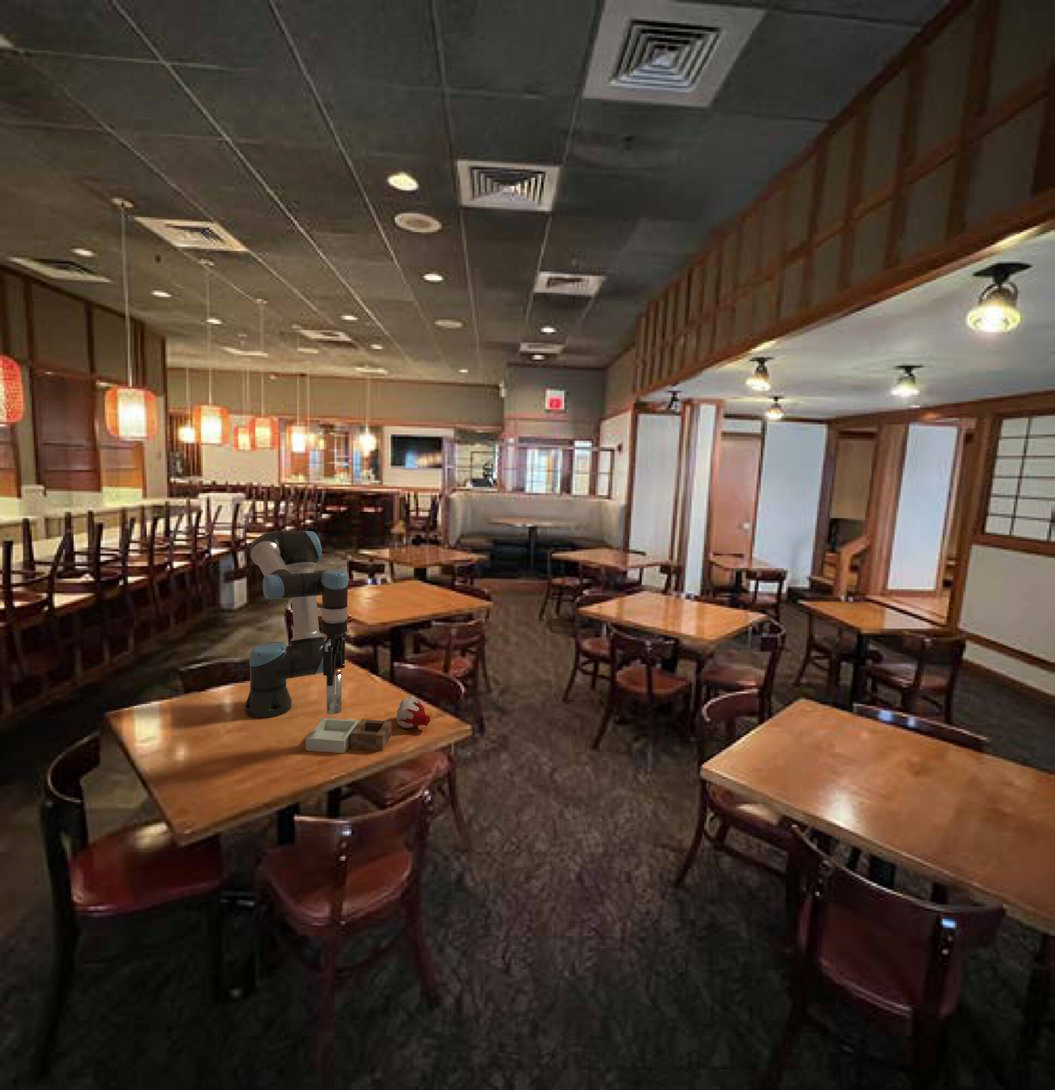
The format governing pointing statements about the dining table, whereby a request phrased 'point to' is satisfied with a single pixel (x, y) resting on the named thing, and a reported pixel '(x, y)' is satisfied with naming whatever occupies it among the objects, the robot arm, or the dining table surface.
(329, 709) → the pin
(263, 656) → the robot arm
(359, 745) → the block
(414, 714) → the candle
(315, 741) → the tray
